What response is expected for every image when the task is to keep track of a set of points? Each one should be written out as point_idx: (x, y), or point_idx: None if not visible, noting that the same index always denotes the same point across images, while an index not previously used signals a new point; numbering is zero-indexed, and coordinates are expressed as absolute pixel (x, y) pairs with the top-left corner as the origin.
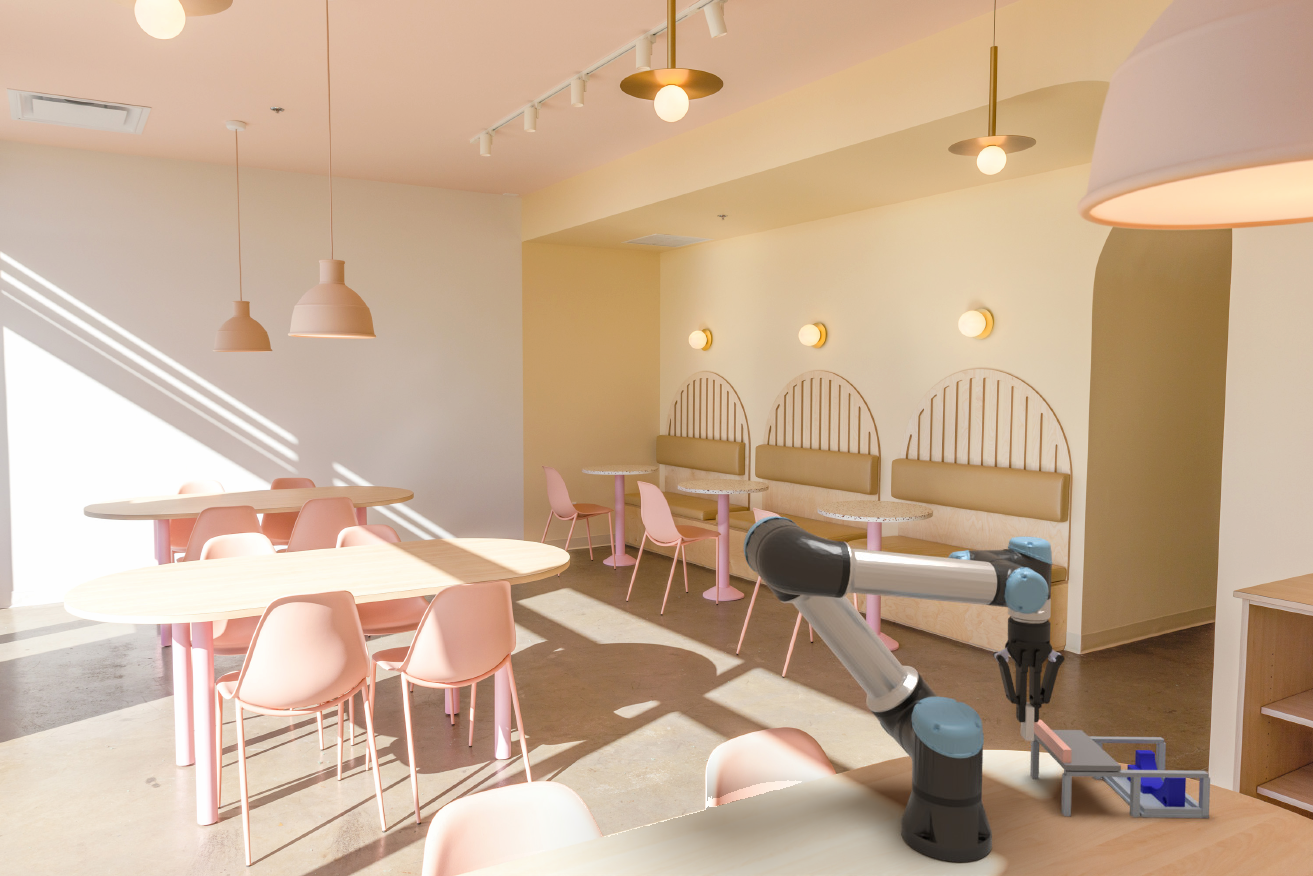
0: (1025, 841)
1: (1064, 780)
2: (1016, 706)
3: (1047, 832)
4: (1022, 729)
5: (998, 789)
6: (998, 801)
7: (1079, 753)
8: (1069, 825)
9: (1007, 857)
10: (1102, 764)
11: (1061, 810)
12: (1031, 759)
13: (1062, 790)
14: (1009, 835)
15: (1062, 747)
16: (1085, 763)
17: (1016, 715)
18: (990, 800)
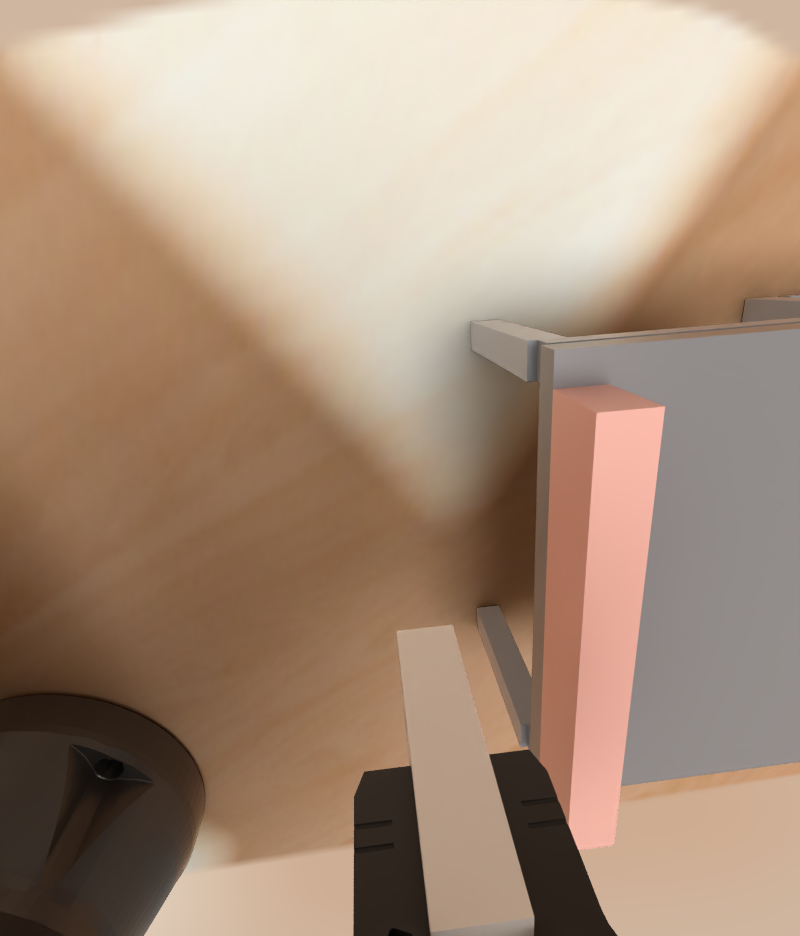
0: (308, 768)
1: (513, 725)
2: (354, 929)
3: (388, 718)
4: (403, 699)
5: (294, 466)
6: (274, 561)
7: (682, 672)
8: (470, 673)
9: (240, 837)
10: (722, 764)
11: (479, 613)
12: (492, 341)
13: (499, 671)
14: (268, 749)
15: (575, 832)
16: (646, 767)
17: (354, 820)
18: (245, 558)
